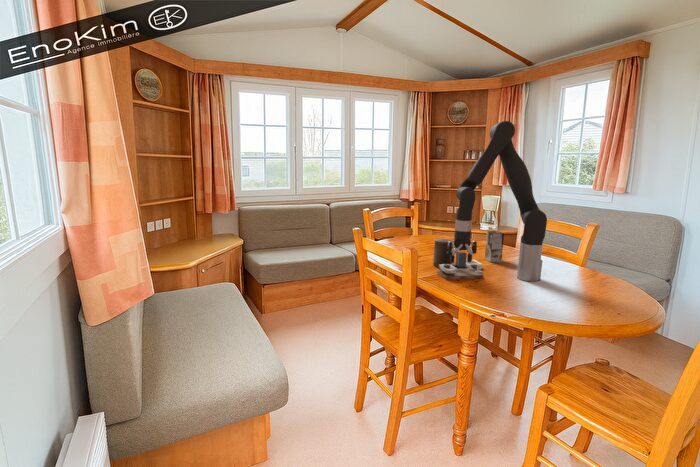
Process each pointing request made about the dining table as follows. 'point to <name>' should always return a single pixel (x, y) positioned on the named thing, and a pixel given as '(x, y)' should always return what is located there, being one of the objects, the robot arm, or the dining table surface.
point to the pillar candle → (441, 252)
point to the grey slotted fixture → (459, 272)
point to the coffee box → (494, 246)
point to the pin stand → (479, 265)
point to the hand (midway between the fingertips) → (460, 262)
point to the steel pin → (460, 260)
